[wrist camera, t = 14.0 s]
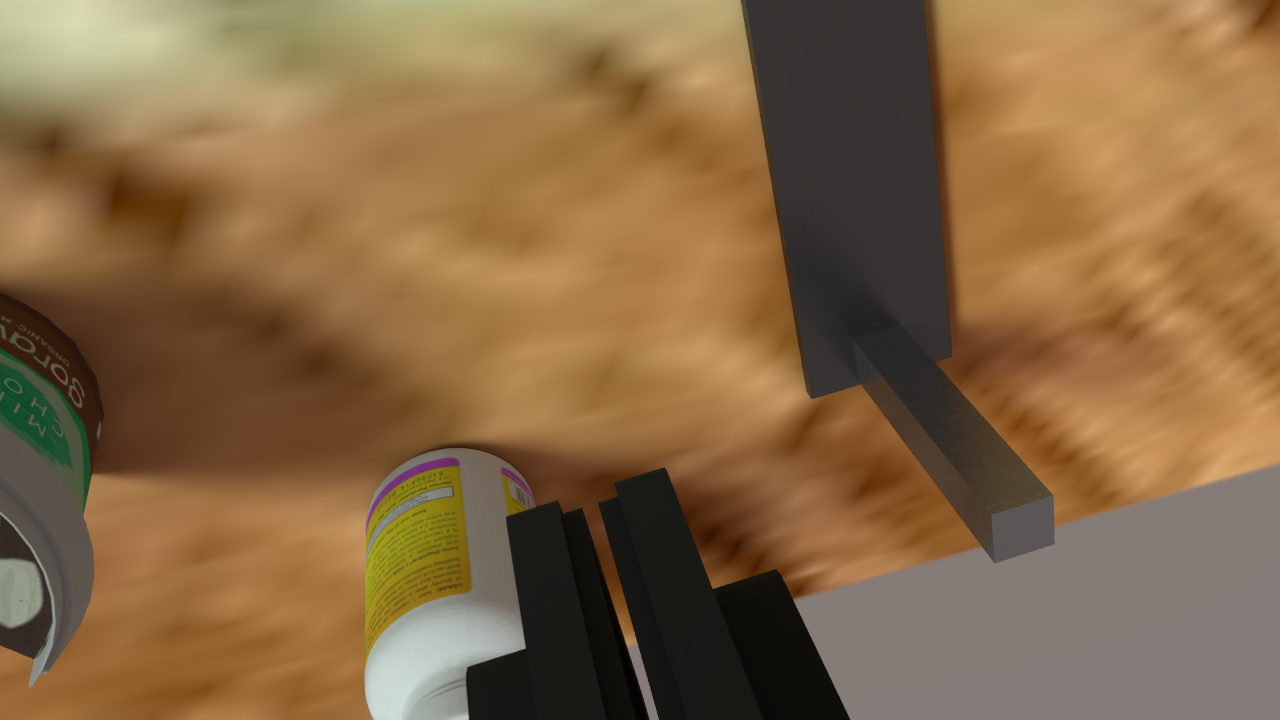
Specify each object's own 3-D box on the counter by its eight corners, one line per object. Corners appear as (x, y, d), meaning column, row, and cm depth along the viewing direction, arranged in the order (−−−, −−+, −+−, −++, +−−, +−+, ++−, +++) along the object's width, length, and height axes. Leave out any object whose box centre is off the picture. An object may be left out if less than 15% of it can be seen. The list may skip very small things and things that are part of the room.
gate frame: (665, -447, 29) (814, -551, 19) (874, -500, 30) (1129, -630, 20) (806, 391, 44) (934, 587, 34) (945, 348, 44) (1113, 529, 34)
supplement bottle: (343, 554, 43) (328, 828, 32) (401, 420, 41) (406, 667, 30) (499, 590, 46) (534, 855, 35) (562, 466, 43) (622, 709, 32)
